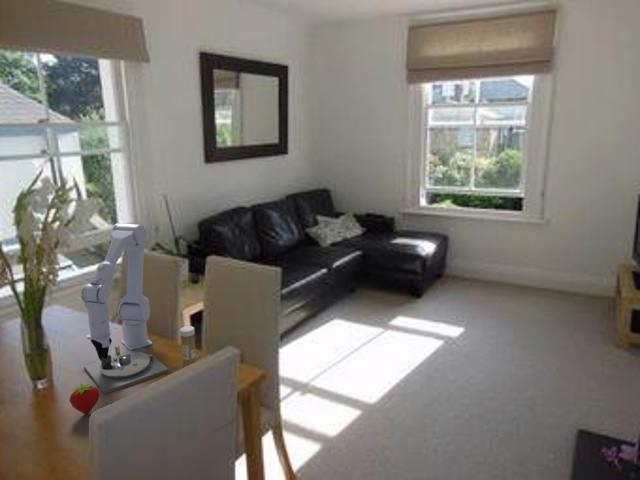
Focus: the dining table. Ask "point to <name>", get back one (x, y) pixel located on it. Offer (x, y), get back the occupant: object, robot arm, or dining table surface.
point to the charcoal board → (115, 384)
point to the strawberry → (84, 398)
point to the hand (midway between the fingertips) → (103, 359)
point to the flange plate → (129, 367)
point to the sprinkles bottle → (188, 345)
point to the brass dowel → (117, 349)
